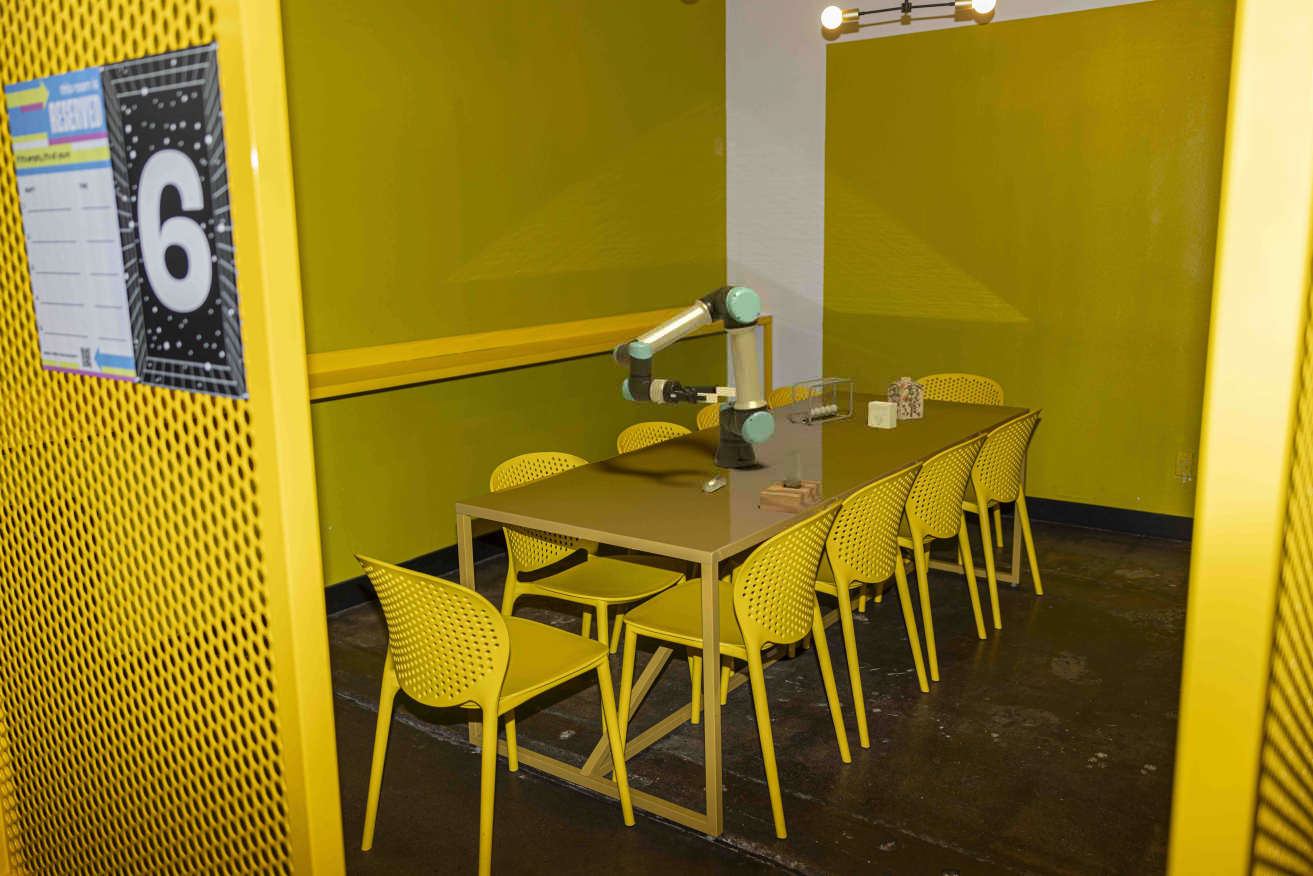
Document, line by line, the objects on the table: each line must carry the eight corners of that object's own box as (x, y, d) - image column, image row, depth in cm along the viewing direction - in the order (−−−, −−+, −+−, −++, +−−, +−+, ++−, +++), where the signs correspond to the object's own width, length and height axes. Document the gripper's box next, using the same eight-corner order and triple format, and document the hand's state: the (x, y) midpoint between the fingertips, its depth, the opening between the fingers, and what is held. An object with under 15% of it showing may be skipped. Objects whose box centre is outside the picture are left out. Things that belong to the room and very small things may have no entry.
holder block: (784, 493, 314) (785, 478, 313) (820, 497, 308) (820, 482, 307) (760, 508, 297) (760, 492, 296) (797, 513, 291) (797, 497, 290)
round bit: (722, 473, 325) (728, 482, 324) (714, 478, 327) (720, 488, 326) (708, 480, 316) (715, 489, 316) (701, 485, 318) (706, 495, 318)
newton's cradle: (809, 426, 423) (810, 385, 420) (791, 423, 431) (791, 383, 428) (852, 417, 443) (853, 378, 439) (834, 414, 451) (834, 376, 447)
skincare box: (896, 426, 418) (897, 402, 416) (889, 429, 413) (890, 404, 411) (874, 424, 425) (875, 400, 423) (867, 426, 420) (868, 402, 418)
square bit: (790, 497, 307) (790, 447, 303) (800, 499, 305) (801, 448, 302) (785, 500, 303) (786, 450, 300) (796, 502, 302) (797, 451, 299)
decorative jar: (886, 416, 443) (887, 376, 439) (909, 414, 446) (910, 375, 443) (900, 420, 432) (901, 380, 428) (923, 418, 435) (925, 378, 432)
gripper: (684, 397, 330) (742, 401, 320) (648, 409, 309) (708, 413, 299) (684, 375, 329) (742, 378, 319) (647, 385, 308) (708, 389, 297)
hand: (726, 395), depth 309 cm, fingers open, 13 cm apart
